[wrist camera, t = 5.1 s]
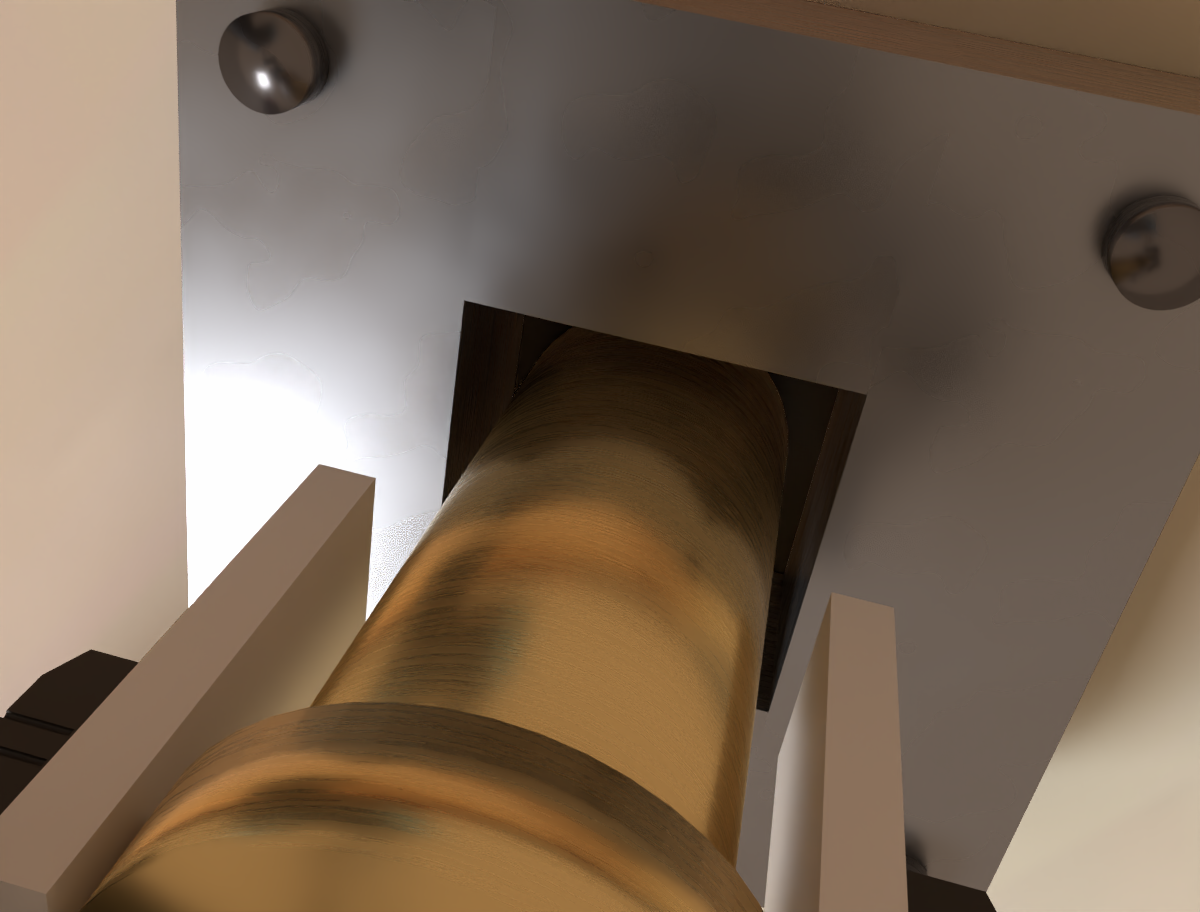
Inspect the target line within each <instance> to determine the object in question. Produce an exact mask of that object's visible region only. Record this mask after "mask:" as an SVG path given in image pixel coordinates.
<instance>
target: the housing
mask: <svg viewBox="0 0 1200 912" xmlns="http://www.w3.org/2000/svg"><path fill="white" fill-rule="evenodd" d="M176 18H177V66H178V114H179V162H180V211H181V259H182V307H183V355H184V403H185V451H186V499H187V548H188V596H189V607H190V605H191V604H192V603H193V602H194V601H195V600H196V599H197V598H198V597H199V596H200V594H201V593H202V592H203V591H204V590H205V589H206V588H207V587H208V586H209V585H210V583H211V582H212V581H213V580H214V579H215V578H216V577H217V576H218V575H219V573H220V572H221V571H222V570H223V569H224V568H225V567H226V566H227V565H228V564H229V562H230V561H231V560H232V559H233V558H234V557H235V556H236V555H237V554H238V553H239V551H240V550H241V549H242V548H243V547H244V546H245V545H246V544H247V543H248V542H249V540H250V539H251V538H252V537H253V536H254V535H255V534H256V533H257V532H258V530H259V529H260V528H261V527H262V526H263V525H264V524H265V523H266V522H267V521H268V519H269V518H270V517H271V516H272V515H273V514H274V513H275V512H276V511H277V510H278V508H279V507H280V506H281V505H282V504H283V503H284V502H285V501H286V500H287V499H288V497H289V496H290V495H291V494H292V493H293V492H294V491H295V490H296V489H297V488H298V486H299V485H300V484H301V483H302V482H303V481H304V480H305V479H306V478H307V476H308V475H309V474H310V473H311V472H312V471H313V470H314V469H315V468H316V467H317V465H318V464H322V465H326V466H330V467H334V468H338V469H342V470H346V471H350V472H354V473H358V474H362V475H366V476H370V477H374V478H376V483H375V497H374V511H373V525H372V539H371V553H370V568H369V582H368V596H367V610H366V620H367V619H368V617H369V616H370V614H371V613H372V611H373V610H374V608H375V607H376V605H377V604H378V602H379V601H380V599H381V598H382V596H383V595H384V593H385V591H386V590H387V588H388V587H389V585H390V584H391V582H392V581H393V579H394V578H395V576H396V575H397V573H398V572H399V570H400V569H401V567H402V566H403V564H404V563H405V561H406V560H407V558H408V557H409V555H410V553H411V552H412V550H413V549H414V547H415V546H416V544H417V543H418V541H419V540H420V538H421V537H422V535H423V534H424V532H425V531H426V529H427V528H428V526H429V525H430V523H431V522H432V520H433V519H434V517H435V515H436V514H437V512H438V511H439V509H440V508H441V506H442V505H443V503H444V502H445V500H446V499H447V497H448V496H449V494H450V493H451V491H452V490H453V488H454V487H455V485H456V484H457V482H458V480H459V479H460V477H461V476H462V474H463V473H464V471H465V470H466V468H467V467H468V465H469V464H470V462H471V461H472V459H473V458H474V456H475V455H476V453H477V452H478V450H479V449H480V447H481V446H482V444H483V442H484V441H485V439H486V438H487V436H488V435H489V433H490V432H491V430H492V429H493V427H494V426H495V424H496V423H497V421H498V420H499V418H500V417H501V415H502V414H503V412H504V411H505V409H506V408H507V406H508V404H509V403H510V401H511V400H512V398H513V395H514V387H515V380H516V373H517V366H518V359H519V351H520V344H521V337H522V330H523V323H524V315H529V316H533V317H537V318H542V319H546V320H550V321H554V322H559V323H563V324H567V325H571V326H576V327H580V328H584V329H589V330H593V331H597V332H601V333H606V334H610V335H614V336H618V337H623V338H627V339H631V340H635V341H640V342H644V343H648V344H652V345H657V346H661V347H665V348H670V349H674V350H678V351H682V352H687V353H691V354H695V355H699V356H704V357H708V358H712V359H716V360H721V361H725V362H729V363H733V364H738V365H742V366H746V367H751V368H755V369H759V370H763V371H768V372H772V373H776V374H780V375H785V376H789V377H793V378H797V379H802V380H806V381H810V382H814V383H819V384H823V385H827V386H831V387H836V388H839V390H838V393H837V397H836V400H835V404H834V407H833V410H832V414H831V417H830V420H829V424H828V427H827V431H826V434H825V437H824V441H823V444H822V447H821V451H820V454H819V458H818V461H817V464H816V468H815V471H814V474H813V478H812V481H811V485H810V488H809V491H808V495H807V498H806V501H805V505H804V508H803V512H802V515H801V518H800V522H799V525H798V528H797V532H796V535H795V539H794V542H793V545H792V549H791V552H790V555H789V559H788V562H787V565H786V569H785V572H784V574H781V573H777V572H773V576H772V584H771V592H770V600H769V608H768V616H767V624H766V632H765V640H764V648H763V656H762V664H761V672H760V680H759V688H758V696H757V704H756V712H755V720H754V728H753V736H752V744H751V752H750V760H749V768H748V776H747V784H746V792H745V800H744V808H743V816H742V824H741V832H740V840H739V848H738V856H737V864H736V871H737V872H738V874H739V875H740V877H741V878H742V880H743V881H744V882H745V884H746V885H747V887H748V888H749V890H750V891H751V892H752V894H753V895H754V897H755V898H756V900H757V901H758V902H759V904H760V906H761V907H763V908H764V905H765V894H766V883H767V872H768V861H769V850H770V839H771V829H772V818H773V807H774V796H775V785H776V774H777V763H778V756H779V753H780V749H781V746H782V743H783V740H784V737H785V734H786V731H787V728H788V725H789V722H790V719H791V716H792V712H793V709H794V706H795V703H796V700H797V697H798V694H799V691H800V688H801V685H802V682H803V679H804V675H805V672H806V669H807V666H808V663H809V660H810V657H811V654H812V651H813V648H814V645H815V642H816V639H817V635H818V632H819V629H820V626H821V623H822V620H823V617H824V614H825V611H826V608H827V605H828V602H829V598H830V595H831V592H833V593H837V594H841V595H845V596H849V597H853V598H857V599H861V600H865V601H869V602H873V603H877V604H881V605H885V606H889V607H893V608H894V617H895V638H896V660H897V681H898V703H899V724H900V746H901V768H902V789H903V811H904V832H905V854H906V870H909V871H912V872H916V873H920V874H923V875H927V876H931V877H934V878H938V879H942V880H945V881H949V882H952V883H956V884H960V885H963V886H967V887H971V888H974V889H978V890H982V891H985V892H986V891H987V889H988V887H989V885H990V883H991V881H992V879H993V877H994V875H995V873H996V871H997V869H998V867H999V865H1000V863H1001V861H1002V858H1003V856H1004V854H1005V852H1006V850H1007V848H1008V846H1009V844H1010V842H1011V840H1012V838H1013V836H1014V834H1015V832H1016V830H1017V828H1018V826H1019V824H1020V821H1021V819H1022V817H1023V815H1024V813H1025V811H1026V809H1027V807H1028V805H1029V803H1030V801H1031V799H1032V797H1033V795H1034V793H1035V791H1036V789H1037V787H1038V784H1039V782H1040V780H1041V778H1042V776H1043V774H1044V772H1045V770H1046V768H1047V766H1048V764H1049V762H1050V760H1051V758H1052V756H1053V754H1054V752H1055V749H1056V747H1057V745H1058V743H1059V741H1060V739H1061V737H1062V735H1063V733H1064V731H1065V729H1066V727H1067V725H1068V723H1069V721H1070V719H1071V717H1072V715H1073V712H1074V710H1075V708H1076V706H1077V704H1078V702H1079V700H1080V698H1081V696H1082V694H1083V692H1084V690H1085V688H1086V686H1087V684H1088V682H1089V680H1090V678H1091V675H1092V673H1093V671H1094V669H1095V667H1096V665H1097V663H1098V661H1099V659H1100V657H1101V655H1102V653H1103V651H1104V649H1105V647H1106V645H1107V643H1108V641H1109V638H1110V636H1111V634H1112V632H1113V630H1114V628H1115V626H1116V624H1117V622H1118V620H1119V618H1120V616H1121V614H1122V612H1123V610H1124V608H1125V606H1126V604H1127V601H1128V599H1129V597H1130V595H1131V593H1132V591H1133V589H1134V587H1135V585H1136V583H1137V581H1138V579H1139V577H1140V575H1141V573H1142V571H1143V569H1144V566H1145V564H1146V562H1147V560H1148V558H1149V556H1150V554H1151V552H1152V550H1153V548H1154V546H1155V544H1156V542H1157V540H1158V538H1159V536H1160V534H1161V532H1162V529H1163V527H1164V525H1165V523H1166V521H1167V519H1168V517H1169V515H1170V513H1171V511H1172V509H1173V507H1174V505H1175V503H1176V501H1177V499H1178V497H1179V495H1180V492H1181V490H1182V488H1183V486H1184V484H1185V482H1186V480H1187V478H1188V476H1189V474H1190V472H1191V470H1192V468H1193V466H1194V464H1195V462H1196V460H1197V458H1198V455H1199V453H1200V79H1199V78H1194V77H1189V76H1184V75H1179V74H1174V73H1169V72H1163V71H1158V70H1153V69H1148V68H1143V67H1138V66H1133V65H1128V64H1123V63H1118V62H1113V61H1108V60H1103V59H1098V58H1093V57H1088V56H1083V55H1078V54H1073V53H1068V52H1063V51H1058V50H1053V49H1048V48H1043V47H1038V46H1033V45H1028V44H1023V43H1018V42H1013V41H1008V40H1003V39H998V38H993V37H988V36H983V35H978V34H973V33H968V32H962V31H957V30H952V29H947V28H942V27H937V26H932V25H927V24H922V23H917V22H912V21H907V20H902V19H897V18H892V17H887V16H882V15H877V14H872V13H867V12H862V11H857V10H852V9H847V8H842V7H837V6H832V5H827V4H822V3H817V2H812V1H807V0H176Z"/></svg>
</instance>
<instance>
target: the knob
mask: <svg viewBox="0 0 1200 912" xmlns="http://www.w3.org/2000/svg"><path fill="white" fill-rule="evenodd" d="M788 439H789V436H788V425H787V418H786V414H785V410H784V406H783V403H782V400H781V398H780V395H779V393H778V390H777V388H776V386H775V384H774V383H773V381H772V379H771V377H770V376H769V374H768V372H767V371H763V370H759V369H755V368H751V367H746V366H742V365H738V364H733V363H729V362H725V361H721V360H716V359H712V358H708V357H704V356H699V355H695V354H691V353H687V352H682V351H678V350H674V349H670V348H665V347H661V346H657V345H652V344H648V343H644V342H640V341H635V340H631V339H627V338H623V337H618V336H614V335H610V334H606V333H601V332H597V331H593V330H589V329H584V328H580V327H576V326H573V327H572V328H570V329H569V330H567V331H566V332H565V333H563V334H562V335H561V336H559V337H558V338H557V339H556V340H555V341H554V342H553V343H552V344H551V345H550V346H549V347H548V348H547V349H546V350H545V351H544V353H543V354H542V355H541V357H540V358H539V359H538V360H537V362H536V363H535V365H534V366H533V368H532V370H531V371H530V373H529V374H528V376H527V377H526V379H525V380H524V382H523V383H522V385H521V386H520V388H519V389H518V391H517V392H516V394H515V395H514V397H513V398H512V400H511V401H510V403H509V404H508V406H507V408H506V409H505V411H504V412H503V414H502V415H501V417H500V418H499V420H498V421H497V423H496V424H495V426H494V427H493V429H492V430H491V432H490V433H489V435H488V436H487V438H486V439H485V441H484V442H483V444H482V446H481V447H480V449H479V450H478V452H477V453H476V455H475V456H474V458H473V459H472V461H471V462H470V464H469V465H468V467H467V468H466V470H465V471H464V473H463V474H462V476H461V477H460V479H459V480H458V482H457V484H456V485H455V487H454V488H453V490H452V491H451V493H450V494H449V496H448V497H447V499H446V500H445V502H444V503H443V505H442V506H441V508H440V509H439V511H438V512H437V514H436V515H435V517H434V519H433V520H432V522H431V523H430V525H429V526H428V528H427V529H426V531H425V532H424V534H423V535H422V537H421V538H420V540H419V541H418V543H417V544H416V546H415V547H414V549H413V550H412V552H411V553H410V555H409V557H408V558H407V560H406V561H405V563H404V564H403V566H402V567H401V569H400V570H399V572H398V573H397V575H396V576H395V578H394V579H393V581H392V582H391V584H390V585H389V587H388V588H387V590H386V591H385V593H384V595H383V596H382V598H381V599H380V601H379V602H378V604H377V605H376V607H375V608H374V610H373V611H372V613H371V614H370V616H369V617H368V619H367V620H366V622H365V623H364V625H363V626H362V628H361V629H360V631H359V633H358V634H357V636H356V637H355V639H354V640H353V642H352V643H351V645H350V646H349V648H348V649H347V651H346V652H345V654H344V655H343V657H342V658H341V660H340V661H339V663H338V664H337V666H336V667H335V669H334V671H333V672H332V674H331V675H330V677H329V678H328V680H327V681H326V683H325V684H324V686H323V687H322V689H321V690H320V692H319V693H318V695H317V696H316V698H315V699H314V701H313V702H312V704H311V705H310V707H307V708H303V709H299V710H295V711H291V712H287V713H283V714H279V715H275V716H271V717H269V718H266V719H264V720H261V721H259V722H257V723H254V724H252V725H249V726H247V727H244V728H242V729H240V730H237V731H236V732H234V733H232V734H231V735H229V736H228V737H226V738H224V739H223V740H221V741H220V742H218V743H216V744H215V745H213V746H212V747H210V748H209V749H207V750H206V751H205V752H204V753H203V754H202V755H201V756H200V757H199V758H198V759H196V760H195V761H194V762H193V763H192V764H191V765H190V766H189V767H188V768H187V769H186V770H185V771H184V772H183V774H182V775H181V776H180V778H179V779H178V780H177V782H176V783H175V784H174V786H173V787H172V788H171V790H170V791H169V792H168V794H167V795H166V796H165V798H164V799H163V800H162V802H161V803H160V804H159V806H158V807H157V808H156V810H155V811H154V812H153V814H152V815H151V816H150V818H149V819H148V820H147V822H146V823H145V824H144V826H143V827H142V828H141V830H140V831H139V832H138V834H137V835H136V836H135V838H134V839H133V840H132V842H131V843H130V844H129V846H128V847H127V848H126V850H125V851H124V852H123V854H122V855H121V856H120V858H119V859H118V860H117V862H116V863H115V864H114V866H113V867H112V868H111V870H110V871H109V872H108V874H107V875H106V876H105V878H104V879H103V880H102V882H101V883H100V884H99V886H98V887H97V888H96V890H95V891H94V892H93V894H92V895H91V896H90V898H89V899H88V900H87V902H86V903H85V904H84V906H83V907H82V908H81V910H80V911H79V912H763V910H762V908H761V906H760V904H759V902H758V901H757V900H756V898H755V897H754V895H753V894H752V892H751V891H750V890H749V888H748V887H747V885H746V884H745V882H744V881H743V880H742V878H741V877H740V875H739V874H738V872H737V871H736V864H737V856H738V848H739V840H740V832H741V824H742V816H743V808H744V800H745V792H746V784H747V776H748V768H749V760H750V752H751V744H752V736H753V728H754V720H755V712H756V704H757V696H758V688H759V680H760V672H761V664H762V656H763V648H764V640H765V632H766V624H767V616H768V608H769V600H770V592H771V584H772V576H773V568H774V560H775V552H776V544H777V536H778V528H779V520H780V512H781V504H782V496H783V488H784V480H785V472H786V464H787V456H788Z"/></svg>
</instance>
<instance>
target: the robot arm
mask: <svg viewBox="0 0 1200 912" xmlns="http://www.w3.org/2000/svg"><path fill="white" fill-rule="evenodd" d="M375 483H376V478H374V477H370V476H366V475H362V474H358V473H354V472H350V471H346V470H342V469H338V468H334V467H330V466H326V465H322V464H318V465H317V467H316V468H315V469H314V470H313V471H312V472H311V473H310V474H309V475H308V476H307V478H306V479H305V480H304V481H303V482H302V483H301V484H300V485H299V486H298V488H297V489H296V490H295V491H294V492H293V493H292V494H291V495H290V496H289V497H288V499H287V500H286V501H285V502H284V503H283V504H282V505H281V506H280V507H279V508H278V510H277V511H276V512H275V513H274V514H273V515H272V516H271V517H270V518H269V519H268V521H267V522H266V523H265V524H264V525H263V526H262V527H261V528H260V529H259V530H258V532H257V533H256V534H255V535H254V536H253V537H252V538H251V539H250V540H249V542H248V543H247V544H246V545H245V546H244V547H243V548H242V549H241V550H240V551H239V553H238V554H237V555H236V556H235V557H234V558H233V559H232V560H231V561H230V562H229V564H228V565H227V566H226V567H225V568H224V569H223V570H222V571H221V572H220V573H219V575H218V576H217V577H216V578H215V579H214V580H213V581H212V582H211V583H210V585H209V586H208V587H207V588H206V589H205V590H204V591H203V592H202V593H201V594H200V596H199V597H198V598H197V599H196V600H195V601H194V602H193V603H192V604H191V605H190V607H189V608H188V609H187V610H186V611H185V612H184V613H183V614H182V615H181V616H180V618H179V619H178V620H177V621H176V622H175V623H174V624H173V625H172V626H171V628H170V629H169V630H168V631H167V632H166V633H165V634H164V635H163V636H162V637H161V639H160V640H159V641H158V642H157V643H156V644H155V645H154V646H153V647H152V648H151V650H150V651H149V652H148V653H147V654H146V655H145V656H144V657H143V658H142V659H141V661H140V662H135V661H131V660H128V659H124V658H120V657H117V656H113V655H109V654H106V653H102V652H98V651H95V650H89V651H87V652H85V653H83V654H82V655H80V656H78V657H76V658H74V659H72V660H70V661H68V662H66V663H64V664H62V665H61V666H59V667H57V668H55V669H53V670H51V671H49V672H47V673H45V674H43V675H42V676H41V677H40V678H39V679H38V680H37V681H36V682H35V683H34V684H33V685H32V686H31V687H30V688H29V689H28V690H27V691H26V692H25V693H24V694H23V695H22V696H21V697H20V698H19V699H18V700H17V701H16V702H15V703H14V704H13V705H11V706H10V707H9V708H8V709H7V713H6V715H5V717H4V718H1V717H0V912H79V911H80V910H81V908H82V907H83V906H84V904H85V903H86V902H87V900H88V899H89V898H90V896H91V895H92V894H93V892H94V891H95V890H96V888H97V887H98V886H99V884H100V883H101V882H102V880H103V879H104V878H105V876H106V875H107V874H108V872H109V871H110V870H111V868H112V867H113V866H114V864H115V863H116V862H117V860H118V859H119V858H120V856H121V855H122V854H123V852H124V851H125V850H126V848H127V847H128V846H129V844H130V843H131V842H132V840H133V839H134V838H135V836H136V835H137V834H138V832H139V831H140V830H141V828H142V827H143V826H144V824H145V823H146V822H147V820H148V819H149V818H150V816H151V815H152V814H153V812H154V811H155V810H156V808H157V807H158V806H159V804H160V803H161V802H162V800H163V799H164V798H165V796H166V795H167V794H168V792H169V791H170V790H171V788H172V787H173V786H174V784H175V783H176V782H177V780H178V779H179V778H180V776H181V775H182V774H183V772H184V771H185V770H186V769H187V768H188V767H189V766H190V765H191V764H192V763H193V762H194V761H195V760H196V759H198V758H199V757H200V756H201V755H202V754H203V753H204V752H205V751H206V750H207V749H209V748H210V747H212V746H213V745H215V744H216V743H218V742H220V741H221V740H223V739H224V738H226V737H228V736H229V735H231V734H232V733H234V732H236V731H237V730H240V729H242V728H244V727H247V726H249V725H252V724H254V723H257V722H259V721H261V720H264V719H266V718H269V717H271V716H275V715H279V714H283V713H287V712H291V711H295V710H299V709H303V708H307V707H310V705H311V704H312V702H313V701H314V699H315V698H316V696H317V695H318V693H319V692H320V690H321V689H322V687H323V686H324V684H325V683H326V681H327V680H328V678H329V677H330V675H331V674H332V672H333V671H334V669H335V667H336V666H337V664H338V663H339V661H340V660H341V658H342V657H343V655H344V654H345V652H346V651H347V649H348V648H349V646H350V645H351V643H352V642H353V640H354V639H355V637H356V636H357V634H358V633H359V631H360V629H361V628H362V626H363V625H364V623H365V622H366V610H367V596H368V582H369V568H370V553H371V539H372V525H373V511H374V497H375ZM764 912H996V910H995V908H994V906H993V904H992V903H991V901H990V899H989V897H988V895H987V894H986V892H985V891H982V890H978V889H974V888H971V887H967V886H963V885H960V884H956V883H952V882H949V881H945V880H942V879H938V878H934V877H931V876H927V875H923V874H920V873H916V872H912V871H909V870H906V854H905V832H904V811H903V789H902V768H901V746H900V724H899V703H898V681H897V660H896V638H895V617H894V608H893V607H889V606H885V605H881V604H877V603H873V602H869V601H865V600H861V599H857V598H853V597H849V596H845V595H841V594H837V593H833V592H831V595H830V598H829V602H828V605H827V608H826V611H825V614H824V617H823V620H822V623H821V626H820V629H819V632H818V635H817V639H816V642H815V645H814V648H813V651H812V654H811V657H810V660H809V663H808V666H807V669H806V672H805V675H804V679H803V682H802V685H801V688H800V691H799V694H798V697H797V700H796V703H795V706H794V709H793V712H792V716H791V719H790V722H789V725H788V728H787V731H786V734H785V737H784V740H783V743H782V746H781V749H780V753H779V756H778V763H777V774H776V785H775V796H774V807H773V818H772V829H771V839H770V850H769V861H768V872H767V883H766V894H765V905H764Z"/></svg>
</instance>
